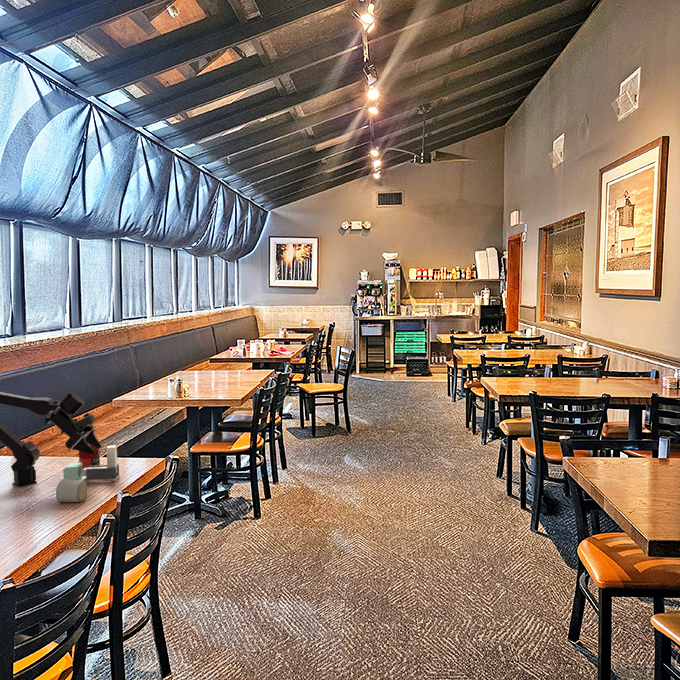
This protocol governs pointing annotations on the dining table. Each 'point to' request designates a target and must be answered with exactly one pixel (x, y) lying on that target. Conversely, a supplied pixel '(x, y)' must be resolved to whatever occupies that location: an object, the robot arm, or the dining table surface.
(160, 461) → the dining table surface
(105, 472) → the sleeve
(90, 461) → the canned food
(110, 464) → the light grey l-shaped piece
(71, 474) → the socket
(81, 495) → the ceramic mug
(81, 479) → the base board
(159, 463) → the dining table surface
